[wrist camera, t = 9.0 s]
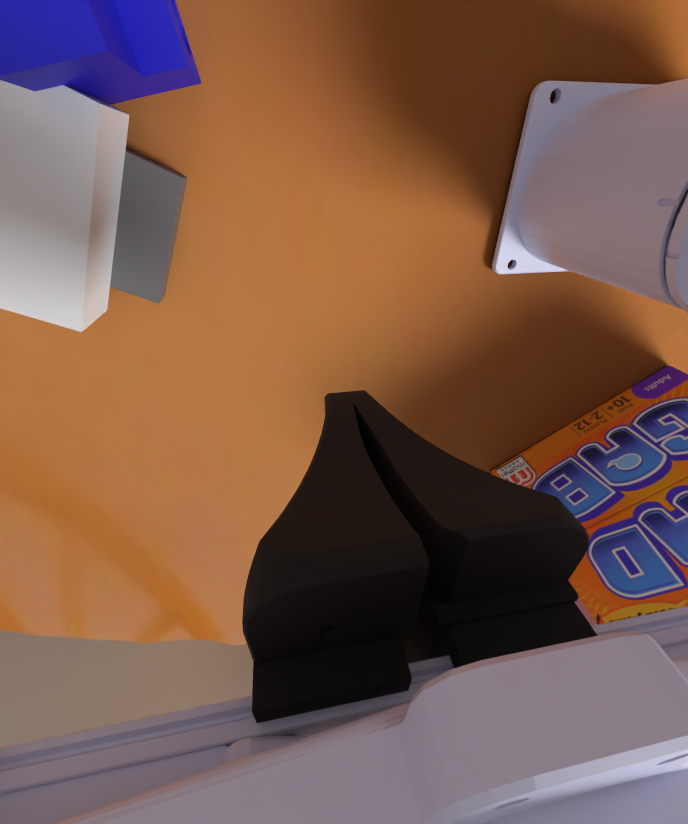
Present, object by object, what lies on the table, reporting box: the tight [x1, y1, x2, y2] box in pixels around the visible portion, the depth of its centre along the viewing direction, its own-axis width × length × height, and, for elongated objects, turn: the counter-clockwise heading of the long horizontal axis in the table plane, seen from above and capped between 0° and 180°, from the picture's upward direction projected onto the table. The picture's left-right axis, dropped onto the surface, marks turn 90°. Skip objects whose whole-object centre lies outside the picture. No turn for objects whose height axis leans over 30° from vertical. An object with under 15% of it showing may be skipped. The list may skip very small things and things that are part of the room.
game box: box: [491, 366, 688, 624], centre depth 26 cm, size 16×16×16 cm
